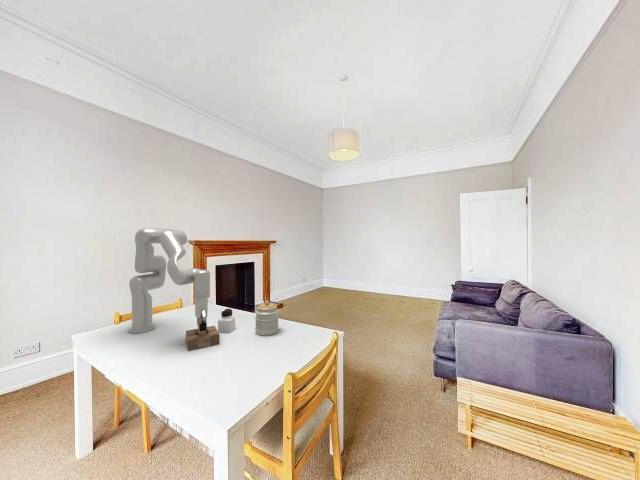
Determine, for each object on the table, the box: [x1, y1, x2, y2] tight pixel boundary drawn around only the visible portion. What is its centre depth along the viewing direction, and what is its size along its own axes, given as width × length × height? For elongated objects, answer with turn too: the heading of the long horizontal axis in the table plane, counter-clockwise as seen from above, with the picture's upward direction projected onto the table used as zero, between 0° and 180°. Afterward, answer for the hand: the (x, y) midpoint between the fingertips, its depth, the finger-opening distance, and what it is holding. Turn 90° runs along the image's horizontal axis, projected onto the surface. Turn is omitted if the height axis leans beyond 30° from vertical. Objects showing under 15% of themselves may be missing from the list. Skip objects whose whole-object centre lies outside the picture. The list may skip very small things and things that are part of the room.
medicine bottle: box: [217, 308, 236, 334], centre depth 142 cm, size 7×7×12 cm
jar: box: [254, 300, 280, 337], centre depth 140 cm, size 13×13×18 cm
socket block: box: [185, 325, 221, 352], centre depth 126 cm, size 14×14×5 cm
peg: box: [197, 318, 207, 335], centre depth 126 cm, size 4×4×12 cm
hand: (201, 327), depth 126 cm, fingers open, 9 cm apart
